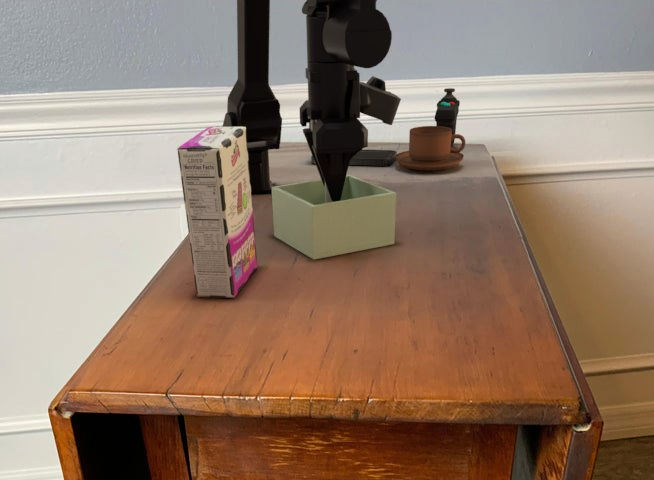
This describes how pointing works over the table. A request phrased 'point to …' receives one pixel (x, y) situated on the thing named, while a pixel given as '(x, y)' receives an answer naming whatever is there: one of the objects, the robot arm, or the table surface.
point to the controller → (447, 111)
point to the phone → (372, 157)
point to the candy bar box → (219, 210)
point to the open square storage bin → (334, 217)
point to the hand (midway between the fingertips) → (332, 194)
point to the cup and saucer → (431, 149)
